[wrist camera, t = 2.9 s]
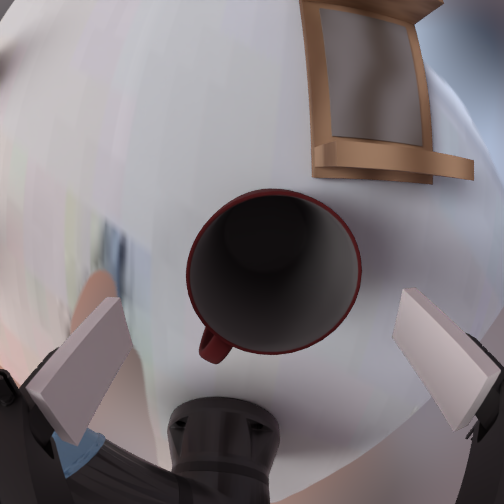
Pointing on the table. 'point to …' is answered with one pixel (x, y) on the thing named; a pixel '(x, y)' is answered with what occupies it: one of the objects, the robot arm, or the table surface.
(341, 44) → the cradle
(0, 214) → the table surface
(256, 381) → the table surface
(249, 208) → the mug
